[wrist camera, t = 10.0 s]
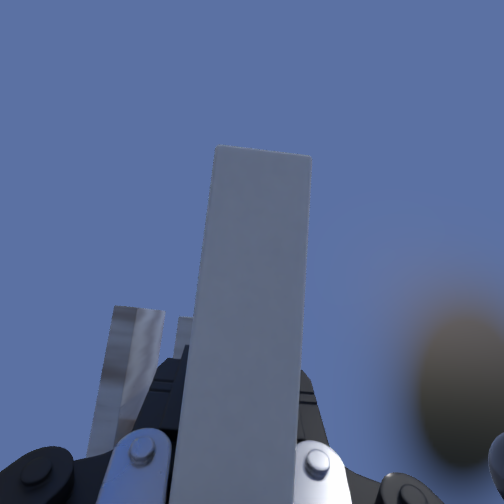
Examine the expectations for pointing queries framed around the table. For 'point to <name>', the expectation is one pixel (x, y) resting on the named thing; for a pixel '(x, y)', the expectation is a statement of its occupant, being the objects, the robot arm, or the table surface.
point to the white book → (246, 334)
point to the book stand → (129, 372)
